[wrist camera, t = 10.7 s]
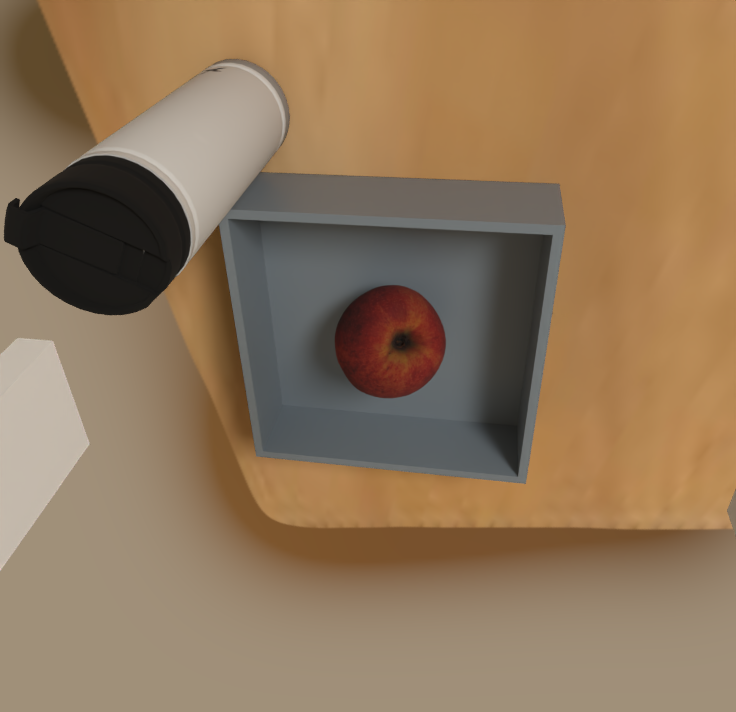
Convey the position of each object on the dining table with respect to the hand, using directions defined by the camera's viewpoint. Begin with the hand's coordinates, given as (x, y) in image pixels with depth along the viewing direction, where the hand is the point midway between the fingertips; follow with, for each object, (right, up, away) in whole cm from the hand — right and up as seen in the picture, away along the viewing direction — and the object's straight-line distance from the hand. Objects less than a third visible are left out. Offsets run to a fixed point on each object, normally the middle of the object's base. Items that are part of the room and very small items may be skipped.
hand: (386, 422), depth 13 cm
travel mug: (-8, +17, +30) cm, 36 cm away
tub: (+2, +4, +37) cm, 37 cm away
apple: (+2, +4, +36) cm, 37 cm away
